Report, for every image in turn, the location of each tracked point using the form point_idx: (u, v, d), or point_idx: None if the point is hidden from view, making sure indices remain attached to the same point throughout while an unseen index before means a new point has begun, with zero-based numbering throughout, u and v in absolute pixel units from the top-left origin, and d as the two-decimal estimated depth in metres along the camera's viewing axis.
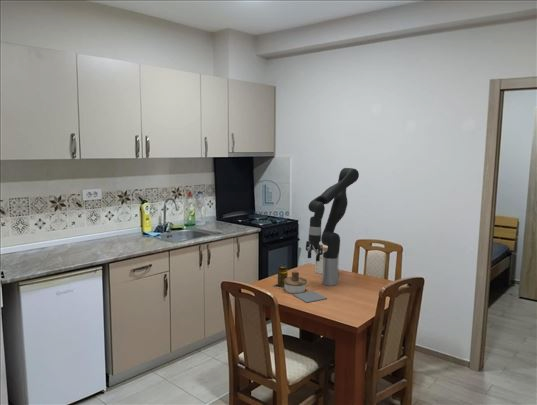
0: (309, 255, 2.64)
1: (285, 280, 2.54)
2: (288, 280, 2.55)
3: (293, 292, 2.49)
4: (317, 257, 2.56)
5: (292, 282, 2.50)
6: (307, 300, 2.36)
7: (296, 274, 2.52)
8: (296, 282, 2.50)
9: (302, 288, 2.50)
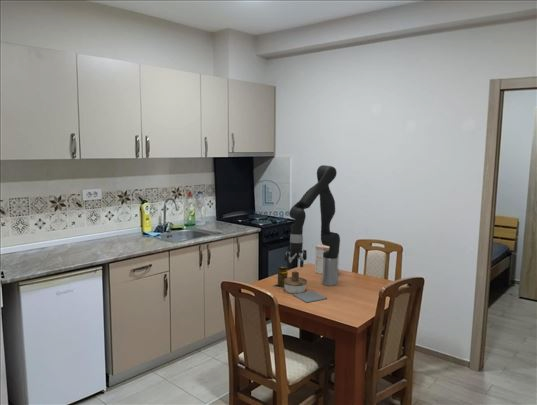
0: None
1: (285, 280, 2.54)
2: (288, 280, 2.55)
3: (293, 292, 2.49)
4: (302, 263, 2.55)
5: (292, 282, 2.50)
6: (307, 300, 2.36)
7: (296, 274, 2.52)
8: (296, 282, 2.50)
9: (302, 288, 2.50)
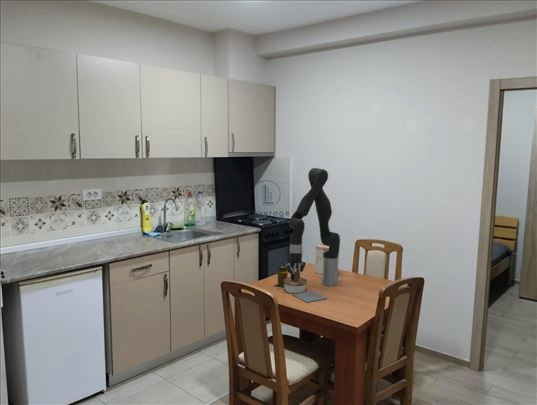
0: None
1: (285, 280, 2.54)
2: (288, 280, 2.54)
3: (293, 292, 2.49)
4: (299, 275, 2.55)
5: (292, 282, 2.50)
6: (307, 300, 2.36)
7: (296, 274, 2.52)
8: (296, 282, 2.50)
9: (302, 288, 2.50)
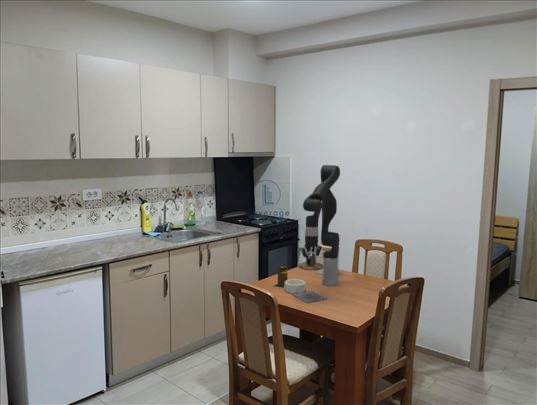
0: None
1: (300, 265, 2.41)
2: (303, 264, 2.41)
3: (293, 292, 2.49)
4: (315, 259, 2.42)
5: (308, 267, 2.37)
6: (307, 300, 2.36)
7: (312, 258, 2.39)
8: (312, 267, 2.37)
9: (302, 288, 2.50)
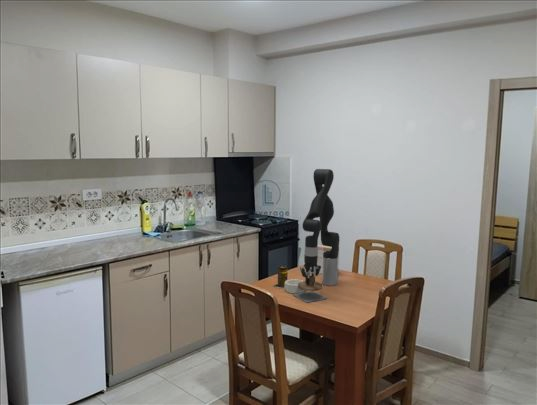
0: None
1: (300, 284, 2.42)
2: (303, 284, 2.43)
3: (293, 292, 2.49)
4: (314, 279, 2.43)
5: (307, 287, 2.38)
6: (307, 300, 2.36)
7: (311, 278, 2.41)
8: (311, 287, 2.39)
9: None
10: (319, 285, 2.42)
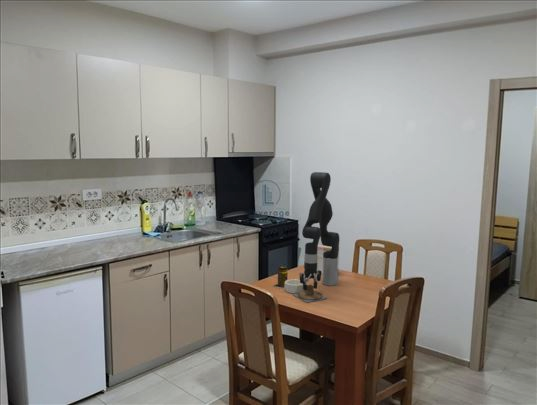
0: None
1: (299, 294, 2.43)
2: (303, 293, 2.44)
3: (293, 292, 2.49)
4: (316, 284, 2.44)
5: (307, 296, 2.39)
6: (307, 300, 2.36)
7: (311, 288, 2.41)
8: (311, 296, 2.39)
9: (302, 288, 2.50)
10: (319, 294, 2.43)
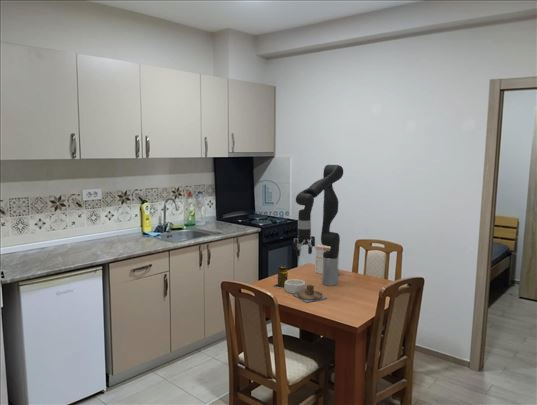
0: None
1: (299, 294, 2.43)
2: (303, 293, 2.44)
3: (293, 292, 2.49)
4: (311, 249, 2.49)
5: (307, 296, 2.39)
6: (307, 300, 2.36)
7: (311, 288, 2.42)
8: (311, 296, 2.39)
9: (302, 288, 2.50)
10: (319, 294, 2.42)
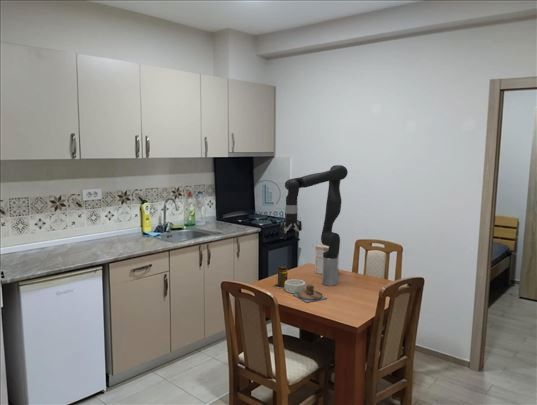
0: None
1: (299, 294, 2.43)
2: (303, 293, 2.44)
3: (293, 292, 2.49)
4: (298, 233, 2.62)
5: (307, 296, 2.39)
6: (307, 300, 2.36)
7: (311, 288, 2.41)
8: (311, 296, 2.39)
9: (302, 288, 2.50)
10: (319, 294, 2.42)
